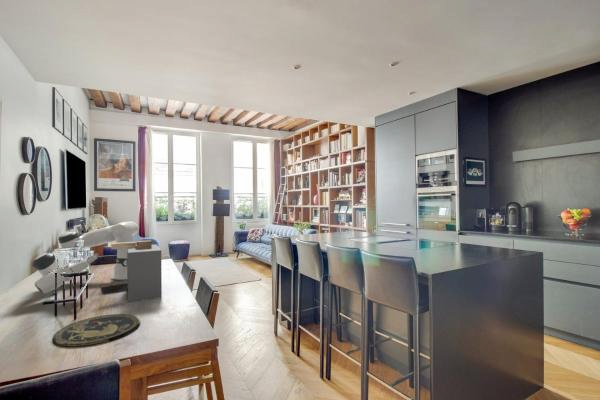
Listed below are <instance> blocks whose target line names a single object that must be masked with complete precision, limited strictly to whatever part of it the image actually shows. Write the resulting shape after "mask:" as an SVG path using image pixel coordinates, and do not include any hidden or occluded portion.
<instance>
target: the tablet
mask: <svg viewBox="0 0 600 400" xmlns="http://www.w3.org/2000/svg"><path fill="white" fill-rule="evenodd" d="M100 291H101V294H102V296H104V295H111V294H116V293H117V294H119V293H124V292H128V290H127V282H126V283H119V284H113V285H107V286H101V287H100Z"/></svg>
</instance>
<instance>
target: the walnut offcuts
mask: <svg viewBox="0 0 600 400" xmlns="http://www.w3.org/2000/svg"><path fill="white" fill-rule="evenodd" d="M136 242H137V245H136V249H149V248H152V245H153V241H152V240H150V239H149V240H139V241H136Z"/></svg>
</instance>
